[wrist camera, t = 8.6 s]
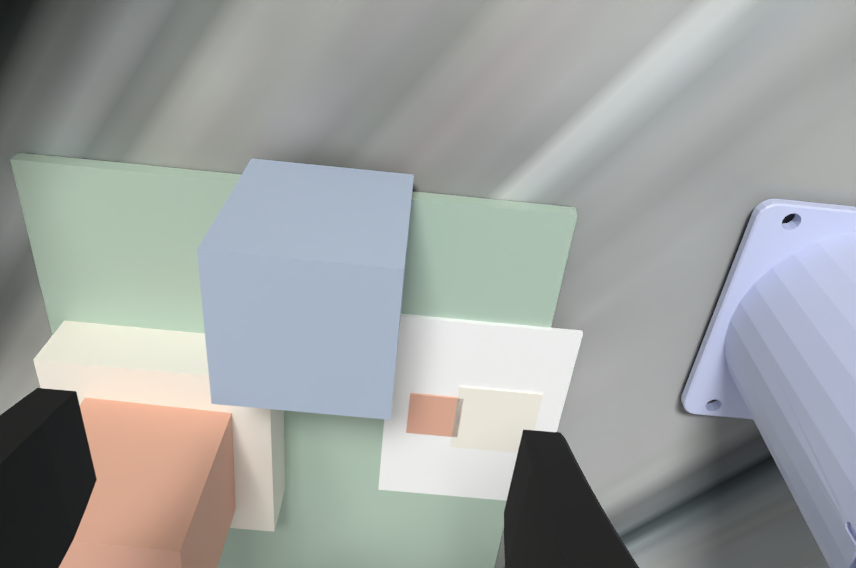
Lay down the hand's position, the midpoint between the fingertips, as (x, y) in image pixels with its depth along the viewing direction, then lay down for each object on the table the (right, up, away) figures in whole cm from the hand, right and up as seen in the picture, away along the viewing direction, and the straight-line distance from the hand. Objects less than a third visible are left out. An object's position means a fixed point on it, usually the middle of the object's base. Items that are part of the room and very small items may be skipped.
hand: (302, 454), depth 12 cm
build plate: (-3, -4, +15) cm, 16 cm away
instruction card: (+4, -2, +13) cm, 13 cm away
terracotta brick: (-7, -3, +11) cm, 13 cm away
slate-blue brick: (-1, +4, +9) cm, 10 cm away
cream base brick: (-6, -2, +13) cm, 15 cm away
